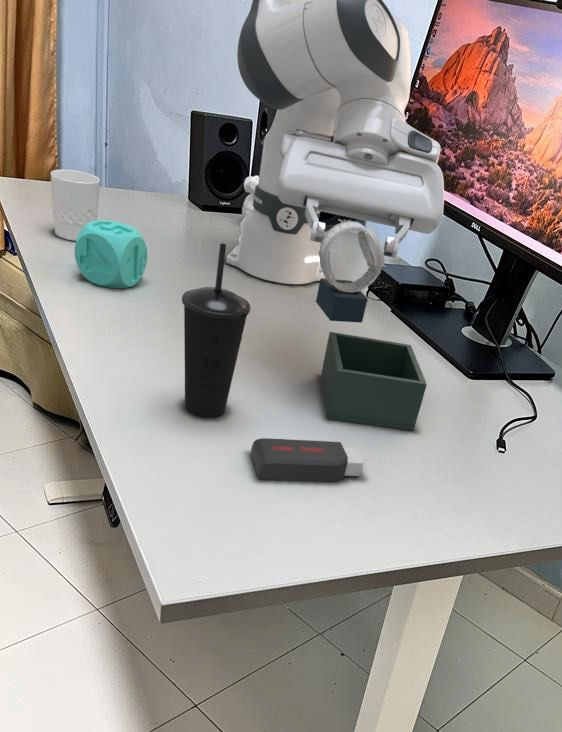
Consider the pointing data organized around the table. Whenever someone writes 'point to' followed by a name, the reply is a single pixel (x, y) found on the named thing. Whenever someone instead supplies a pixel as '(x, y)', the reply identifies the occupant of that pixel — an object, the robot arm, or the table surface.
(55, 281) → the table surface
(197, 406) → the drinking cup
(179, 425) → the table surface
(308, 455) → the usb drive
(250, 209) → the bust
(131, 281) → the decorative dice
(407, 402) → the open box
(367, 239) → the watch
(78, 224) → the white cup
